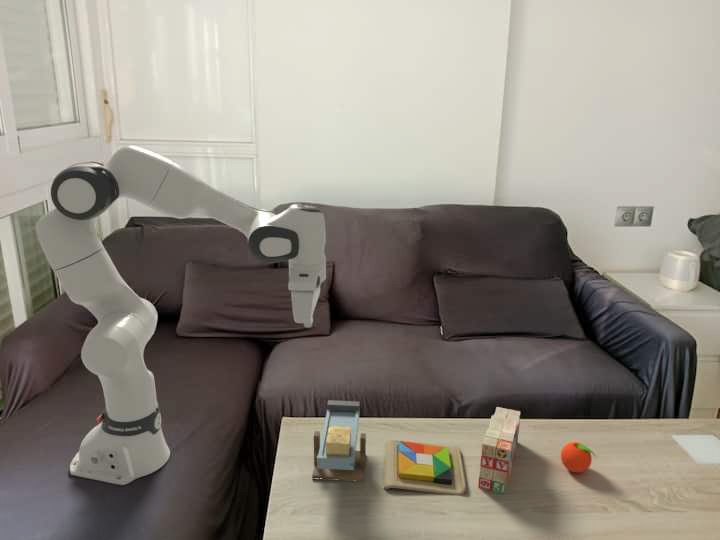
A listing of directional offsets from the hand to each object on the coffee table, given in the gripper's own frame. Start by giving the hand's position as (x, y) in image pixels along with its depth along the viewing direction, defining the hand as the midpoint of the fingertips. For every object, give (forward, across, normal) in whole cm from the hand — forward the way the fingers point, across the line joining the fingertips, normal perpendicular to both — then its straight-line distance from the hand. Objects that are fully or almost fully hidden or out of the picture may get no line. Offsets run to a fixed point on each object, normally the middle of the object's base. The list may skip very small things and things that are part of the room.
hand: (308, 324), depth 140 cm
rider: (+22, +20, +9) cm, 31 cm away
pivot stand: (+31, +13, +9) cm, 35 cm away
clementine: (+32, +10, +66) cm, 74 cm away
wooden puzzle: (+32, +12, +29) cm, 45 cm away
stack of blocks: (+32, +9, +48) cm, 58 cm away
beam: (+23, +13, +9) cm, 28 cm away
